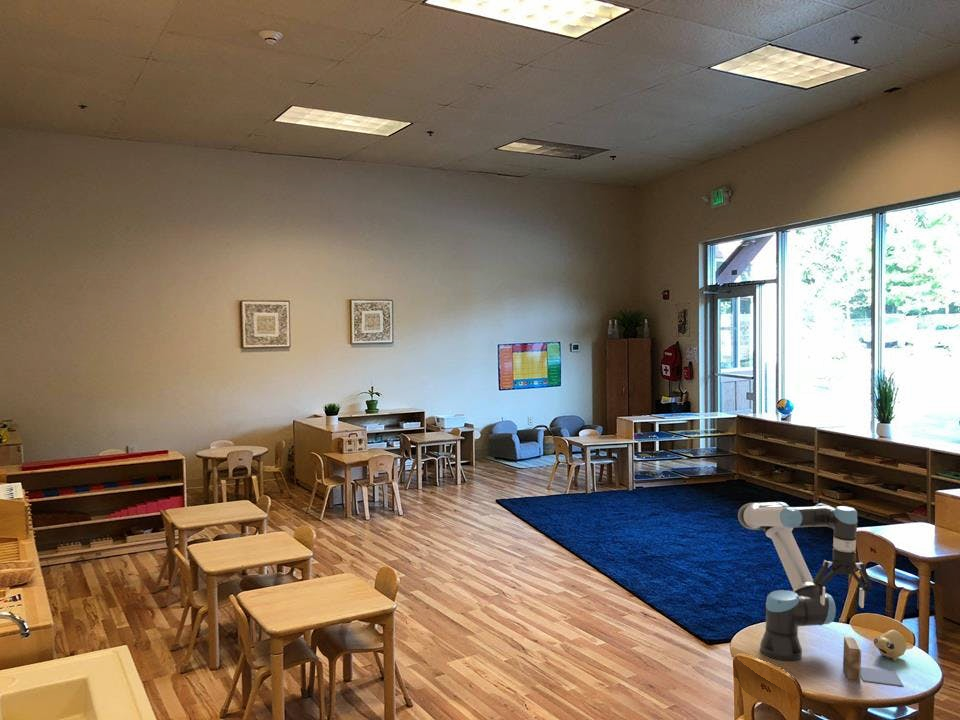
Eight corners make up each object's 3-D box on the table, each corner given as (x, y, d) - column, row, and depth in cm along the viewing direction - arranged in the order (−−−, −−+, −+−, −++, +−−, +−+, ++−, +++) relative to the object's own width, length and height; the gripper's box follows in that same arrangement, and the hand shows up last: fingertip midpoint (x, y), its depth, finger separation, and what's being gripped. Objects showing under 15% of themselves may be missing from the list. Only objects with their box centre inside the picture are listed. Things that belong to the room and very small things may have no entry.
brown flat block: (848, 680, 264) (849, 648, 263) (843, 668, 273) (844, 636, 273) (860, 682, 263) (861, 649, 262) (854, 669, 272) (855, 638, 272)
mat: (863, 681, 263) (863, 680, 263) (856, 667, 274) (856, 666, 274) (903, 686, 260) (903, 685, 260) (895, 672, 270) (895, 671, 270)
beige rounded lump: (867, 656, 284) (868, 629, 283) (885, 649, 290) (886, 623, 289) (893, 666, 275) (894, 638, 275) (910, 659, 281) (911, 632, 281)
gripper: (811, 550, 267) (809, 606, 268) (884, 554, 263) (881, 611, 265) (805, 544, 274) (803, 598, 276) (876, 547, 271) (873, 603, 272)
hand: (841, 605), depth 270 cm, fingers open, 13 cm apart
